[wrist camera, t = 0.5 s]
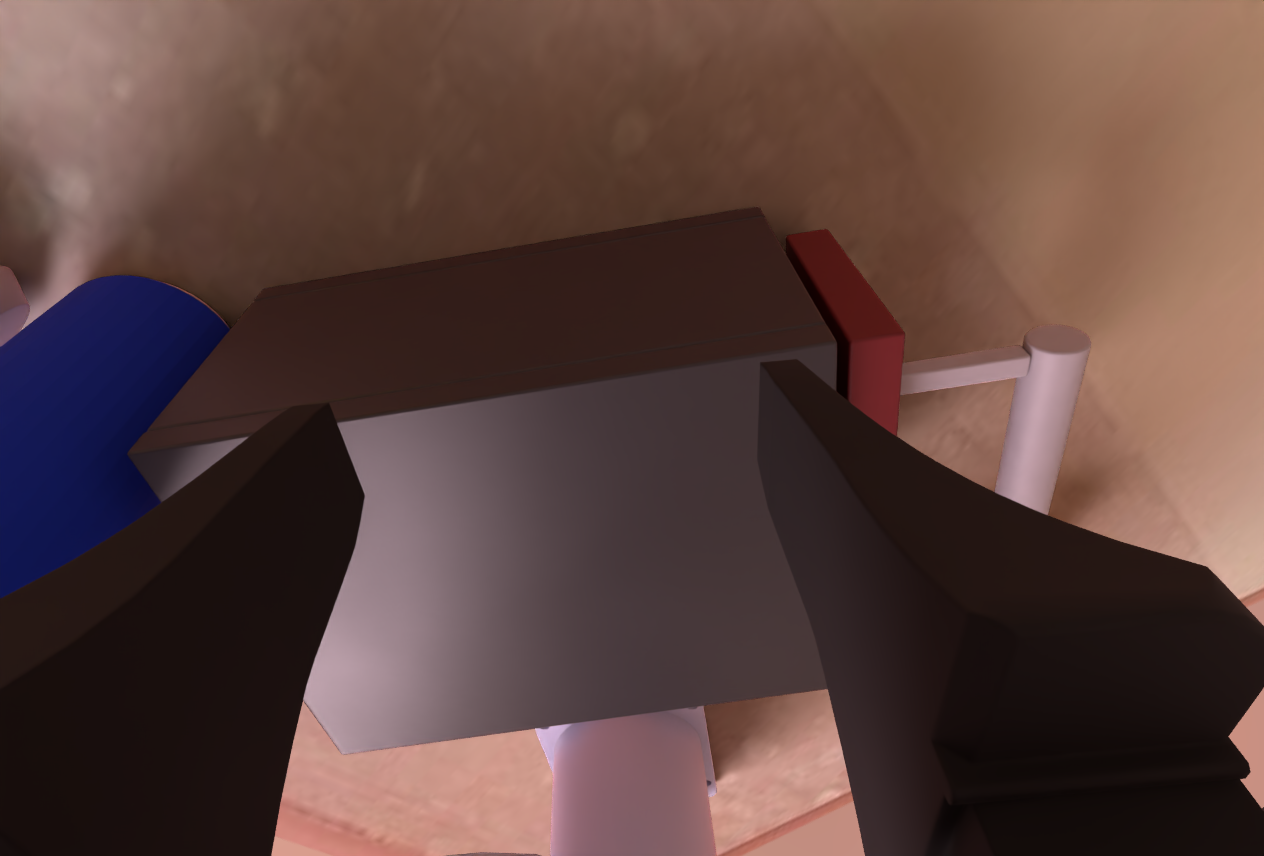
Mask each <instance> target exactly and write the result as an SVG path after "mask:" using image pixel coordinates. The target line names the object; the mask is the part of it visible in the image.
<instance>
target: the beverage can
mask: <svg viewBox="0 0 1264 856" xmlns="http://www.w3.org/2000/svg"><path fill="white" fill-rule="evenodd" d="M229 330H230V328H229V326H228V325H227V323H226V322H225V321H224V320H223V319H222V318H221V317H220V315H219V314H218V313H217V312H216V311H215V310H213V309H212V308H211V307H210V306H209V305H208V304H206V303H205V302H203V301H202V300H201V299H199V298H198V297H196V296H194V295H193V294H191V293H189V292H187V291H185V290H183V289H181V288H178V287H176V286H173V285H171V284H168V283H164V282H160V281H157V280H153V279H149V278H144V277H137V276H127V275H114V276H107V277H100V278H97V279H94V280H91V281H88V282H86V283H84V284H82V285H80V286H79V287H77V288H76V289H74V290H73V291H72V292H70V293H69V294H68V295H67V296H65V297H64V298H63V299H61V300H60V301H59V302H58V303H56V304H55V305H54V306H52V307H51V308H50V309H49V310H47V311H46V312H45V313H43V314H42V315H41V316H40V317H38V318H37V319H36V320H34V321H33V322H32V323H31V324H29V325H28V326H27V327H25V328H24V329H23V330H22V331H20V332H19V333H18V334H16V335H15V336H14V337H13V338H11V339H10V340H9V341H7V342H6V343H5V344H4V345H2V346H1V347H0V598H2V597H4V596H6V595H8V594H10V593H12V592H14V591H16V590H17V589H19V588H21V587H23V586H25V585H27V584H29V583H31V582H33V581H35V580H36V579H38V578H40V577H42V576H44V575H46V574H48V573H50V572H52V571H53V570H55V569H57V568H59V567H61V566H63V565H64V564H66V563H68V562H70V561H71V560H73V559H75V558H77V557H78V556H80V555H82V554H83V553H85V552H87V551H88V550H90V549H92V548H93V547H95V546H97V545H98V544H100V543H101V542H103V541H105V540H106V539H108V538H110V537H111V536H113V535H114V534H116V533H118V532H119V531H121V530H122V529H124V528H125V527H127V526H128V525H130V524H131V523H133V522H134V521H136V520H137V519H139V518H140V517H142V516H143V515H145V514H146V513H148V512H149V511H150V510H152V509H153V508H155V507H156V506H157V505H159V504H160V503H161V502H160V500H159V499H158V497H157V496H156V495H155V493H154V492H153V490H152V489H151V488H150V486H149V485H148V483H147V482H146V481H145V479H144V478H143V476H142V475H141V474H140V472H139V471H138V469H137V468H136V467H135V465H134V464H133V462H132V461H131V460H130V458H129V457H128V455H127V453H128V451H129V450H130V449H131V448H132V446H133V445H134V444H135V443H136V442H137V440H138V439H139V438H140V437H141V436H142V434H143V433H145V432H147V429H148V428H149V427H150V425H151V424H152V423H153V422H154V421H155V419H156V418H157V417H158V416H159V415H160V413H161V412H162V411H163V410H164V409H165V407H166V406H167V405H168V404H169V403H170V401H171V400H172V399H173V398H174V397H175V395H176V394H177V393H178V392H179V390H180V389H181V388H182V387H183V386H184V384H185V383H186V382H187V381H188V380H189V378H190V377H191V376H192V375H193V374H194V372H195V371H196V370H197V369H198V368H199V366H200V365H201V364H202V363H203V362H204V360H205V359H206V358H207V357H208V356H209V354H210V353H211V352H212V351H213V350H214V348H215V347H216V346H217V345H218V344H219V342H220V341H221V340H222V339H223V338H224V336H225V335H226V334H227V333H228V332H229Z"/></svg>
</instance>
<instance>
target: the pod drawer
mask: <svg viewBox="0 0 1264 856" xmlns="http://www.w3.org/2000/svg"><path fill="white" fill-rule="evenodd" d="M786 255H787V257H788V259H789V260H790V262H791V264H792V266H793V267H794V269H795V271H796V273H797V274H798V276H799V278H800V280H801V281H802V283H803V285H804V287H805V288H806V290H807V292H808V294H809V295H810V297H811V299H812V301H813V302H814V304H815V306H816V307H817V309H818V311H819V313H820V314H821V316H822V318H823V320H824V321H825V323H826V325H827V326H828V328H829V329H830V331H831V333H832V335H833V336H834V338H835V340H836V342H837V379H836V392H838V393H839V394H840V395H841V396H843V397H844V398H845V399H846V400H848V401H849V402H850V403H851V404H853V405H854V406H855V407H857V408H858V409H859V410H860V411H862V412H863V413H864V414H866V415H867V416H868V417H870V418H871V419H872V420H874V421H875V422H877V423H878V424H879V425H881V426H882V427H884V428H885V429H886V430H888V431H889V432H891V433H892V434H894V435H895V436H897V428H898V416H899V404H900V396H901V395H907V394H914V393H920V392H927V391H933V390H940V389H946V388H953V387H959V386H966V385H972V384H979V383H985V382H992V381H998V380H1005V379H1012V378H1016V382H1015V387H1014V393H1013V398H1012V403H1011V408H1010V414H1009V419H1008V424H1007V429H1006V434H1005V440H1004V445H1003V450H1002V455H1001V461H1000V466H999V471H998V476H997V481H996V487H995V493H998V494H1000V495H1002V496H1004V497H1006V498H1009V499H1011V500H1013V501H1015V502H1018V503H1020V504H1022V505H1024V506H1027V507H1029V508H1031V509H1033V510H1036V511H1038V512H1041V513H1043V514H1046V515H1048V512H1049V508H1050V505H1051V501H1052V497H1053V493H1054V489H1055V485H1056V481H1057V477H1058V473H1059V469H1060V465H1061V461H1062V458H1063V454H1064V450H1065V446H1066V442H1067V438H1068V434H1069V430H1070V426H1071V422H1072V418H1073V414H1074V411H1075V407H1076V403H1077V399H1078V395H1079V391H1080V387H1081V383H1082V379H1083V375H1084V371H1085V367H1086V363H1087V360H1088V356H1089V352H1090V348H1091V340H1090V338H1089V336H1088V335H1087V334H1086V333H1084V332H1083V331H1081V330H1079V329H1076V328H1073V327H1070V326H1065V325H1052V324H1051V325H1041V326H1037V327H1034V328H1032V329H1030V330H1029V331H1028V332H1027V333H1026V334H1025V336H1024V340H1023V346H1022V347H1021V346H1020V345H1015V346H1008V347H1002V348H995V349H989V350H983V351H976V352H970V353H963V354H957V355H950V356H944V357H937V358H931V359H925V360H918V361H912V362H905V363H903V354H904V342H905V333H904V331H903V330H902V328H901V327H900V326H899V324H898V323H897V322H896V320H895V319H894V318H893V316H892V315H891V314H890V312H889V311H888V310H887V308H886V307H885V306H884V304H883V303H882V302H881V300H880V299H879V298H878V296H877V295H876V294H875V292H874V291H873V289H872V288H871V287H870V285H869V284H868V283H867V281H866V280H865V279H864V277H863V276H862V275H861V273H860V272H859V271H858V269H857V268H856V267H855V265H854V264H853V263H852V261H851V260H850V259H849V257H848V256H847V255H846V253H845V252H844V251H843V249H842V248H841V247H840V245H839V244H838V243H837V241H836V240H835V239H834V237H833V236H832V235H831V233H830V232H829V231H828V230H827V229H823V230H817V231H810V232H804V233H798V234H792V235H788V236H786Z"/></svg>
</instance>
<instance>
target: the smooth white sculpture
mask: <svg viewBox="0 0 1264 856" xmlns="http://www.w3.org/2000/svg"><path fill="white" fill-rule="evenodd" d="M29 312H30V306H29V304H28V302H27V299H26V297H25V295H24V293H23V291H22V289H21V287H20V285H19V283H18V281H17V279H16V277H15V275H14V273H13V271H12V270H11V269H10V268H9V267H6V266H0V347H1V346H2V345H4V344H5V343H6V342H7V341H9V340H10V339H11V338H13V337H14V336H15V335H16V334H18V333H19V331H20V330H21V328H22V327H23V325H24V323H25V321H26V320H27V317H28V315H29Z"/></svg>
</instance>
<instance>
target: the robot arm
mask: <svg viewBox="0 0 1264 856" xmlns="http://www.w3.org/2000/svg"><path fill="white" fill-rule="evenodd" d="M757 461H758V466H759V471H760V475H761V480H762V485H763V489H764V493H765V498H766V502H767V506H768V510H769V513H770V515H771V518H772V521H773V524H774V526H775V529H776V532H777V535H778V537H779V540H780V543H781V546H782V548H783V551H784V554H785V556H786V559H787V562H788V564H789V567H790V570H791V572H792V575H793V578H794V580H795V583H796V586H797V588H798V591H799V594H800V596H801V599H802V602H803V604H804V607H805V610H806V613H807V615H808V618H809V621H810V625H811V628H812V631H813V634H814V637H815V640H816V644H817V648H818V652H819V656H820V660H821V664H822V668H823V672H824V676H825V680H826V684H827V688H828V692H829V696H830V700H831V704H832V708H833V713H834V717H835V721H836V725H837V729H838V734H839V738H840V742H841V746H842V750H843V755H844V759H845V764H846V768H847V773H848V777H849V782H850V787H851V791H852V796H853V800H854V804H855V809H856V814H857V818H858V823H859V828H860V832H861V838H862V843H863V848H864V852H865V856H1264V807H1263V808H1261V807H1260V806H1259V804H1258V803H1257V802H1256V800H1255V799H1254V798H1253V796H1252V795H1251V794H1250V792H1249V791H1248V790H1247V788H1246V787H1245V786H1244V784H1243V783H1242V782H1241V780H1240V779H1243V778H1246V777H1247V776H1248V775H1249V773H1250V767H1249V763H1248V762H1247V760H1246V759H1245V758H1244V756H1243V755H1242V754H1241V753H1240V751H1239V750H1238V749H1237V748H1236V746H1235V745H1234V744H1233V742H1232V741H1231V740H1230V738H1229V737H1228V736H1229V735H1230V733H1231V732H1232V731H1233V729H1234V728H1235V726H1236V725H1237V724H1238V722H1239V721H1240V720H1241V718H1242V717H1243V716H1244V714H1245V713H1246V711H1247V710H1248V709H1249V707H1250V706H1251V704H1252V703H1253V702H1254V700H1255V699H1256V698H1257V696H1258V695H1259V693H1260V692H1261V691H1262V689H1263V687H1264V626H1263V625H1262V624H1261V623H1260V622H1259V621H1258V619H1257V618H1256V617H1255V616H1254V615H1253V614H1252V613H1251V612H1250V611H1249V610H1248V609H1247V608H1246V607H1245V606H1244V605H1243V604H1242V602H1241V601H1240V600H1239V599H1238V598H1237V597H1236V596H1235V595H1234V594H1233V593H1232V592H1231V591H1230V590H1229V589H1228V588H1227V587H1226V586H1225V584H1224V583H1223V582H1222V581H1221V580H1220V579H1219V578H1218V577H1217V576H1216V575H1215V574H1214V573H1213V572H1212V571H1211V570H1210V569H1209V568H1208V567H1206V566H1203V565H1199V564H1196V563H1192V562H1189V561H1185V560H1182V559H1178V558H1175V557H1172V556H1168V555H1165V554H1161V553H1158V552H1154V551H1151V550H1147V549H1144V548H1141V547H1137V546H1134V545H1130V544H1127V543H1123V542H1120V541H1117V540H1114V539H1111V538H1108V537H1105V536H1103V535H1100V534H1097V533H1094V532H1091V531H1089V530H1086V529H1083V528H1080V527H1077V526H1074V525H1072V524H1069V523H1066V522H1063V521H1061V520H1058V519H1056V518H1053V517H1051V516H1048V515H1046V514H1043V513H1041V512H1038V511H1036V510H1033V509H1031V508H1029V507H1027V506H1024V505H1022V504H1020V503H1018V502H1015V501H1013V500H1011V499H1009V498H1006V497H1004V496H1002V495H1000V494H998V493H995V492H993V491H991V490H989V489H987V488H985V487H983V486H981V485H979V484H977V483H975V482H973V481H971V480H969V479H967V478H965V477H963V476H962V475H960V474H958V473H956V472H954V471H952V470H951V469H949V468H947V467H945V466H943V465H942V464H940V463H938V462H936V461H934V460H933V459H931V458H929V457H928V456H926V455H924V454H923V453H921V452H919V451H918V450H916V449H915V448H913V447H912V446H910V445H909V444H907V443H906V442H904V441H903V440H901V439H900V438H898V437H897V436H895V435H894V434H892V433H891V432H889V431H888V430H886V429H885V428H884V427H882V426H881V425H879V424H878V423H877V422H875V421H874V420H872V419H871V418H870V417H868V416H867V415H866V414H864V413H863V412H862V411H860V410H859V409H858V408H857V407H855V406H854V405H853V404H851V403H850V402H849V401H848V400H846V399H845V398H844V397H843V396H841V395H840V394H839V393H838V392H836V391H835V390H834V389H833V388H832V387H830V386H829V385H828V384H827V383H825V382H824V381H823V380H822V379H821V378H819V377H818V376H817V375H816V374H815V373H813V372H812V371H811V370H810V369H809V368H807V367H806V366H805V365H804V364H803V363H801V362H800V361H799V360H797V359H792V360H781V361H770V362H760V382H759V414H758V445H757ZM364 499H365V494H364V492H363V489H362V486H361V484H360V481H359V479H358V476H357V474H356V471H355V468H354V466H353V463H352V461H351V458H350V455H349V453H348V450H347V448H346V445H345V443H344V440H343V437H342V435H341V432H340V430H339V427H338V424H337V422H336V419H335V417H334V414H333V412H332V409H331V406H330V404H329V403H318V404H308V405H297V406H292V407H290V408H289V409H287V410H285V411H284V412H282V413H281V414H279V415H278V416H276V417H275V418H274V419H272V420H271V421H269V422H268V423H267V424H265V425H264V426H263V427H261V428H260V429H259V430H257V431H256V432H255V433H254V434H252V435H251V436H250V437H248V438H247V439H246V440H244V441H243V442H242V443H241V444H239V445H238V446H237V447H235V448H234V449H233V450H232V451H230V452H229V453H228V454H226V455H225V456H224V457H222V458H221V459H220V460H219V461H217V462H216V463H215V464H213V465H212V466H211V467H209V468H208V469H207V470H206V471H204V472H203V473H202V474H200V475H199V476H198V477H196V478H195V479H194V480H192V481H191V482H190V483H188V484H187V485H185V486H184V487H183V488H181V489H180V490H178V491H177V492H176V493H174V494H173V495H171V496H170V497H169V498H167V499H166V500H164V501H163V502H162V503H160V504H159V505H157V506H156V507H155V508H153V509H152V510H150V511H149V512H148V513H146V514H145V515H143V516H142V517H140V518H139V519H137V520H136V521H134V522H133V523H131V524H130V525H128V526H127V527H125V528H124V529H122V530H121V531H119V532H118V533H116V534H114V535H113V536H111V537H110V538H108V539H106V540H105V541H103V542H101V543H100V544H98V545H97V546H95V547H93V548H92V549H90V550H88V551H87V552H85V553H83V554H82V555H80V556H78V557H77V558H75V559H73V560H71V561H70V562H68V563H66V564H64V565H63V566H61V567H59V568H57V569H55V570H53V571H52V572H50V573H48V574H46V575H44V576H42V577H40V578H38V579H36V580H35V581H33V582H31V583H29V584H27V585H25V586H23V587H21V588H19V589H17V590H16V591H14V592H12V593H10V594H8V595H6V596H4V597H2V598H0V856H271V853H272V848H273V842H274V837H275V831H276V825H277V819H278V814H279V808H280V802H281V797H282V793H283V788H284V783H285V778H286V773H287V768H288V764H289V759H290V754H291V749H292V744H293V740H294V736H295V732H296V727H297V723H298V719H299V715H300V711H301V706H302V702H303V698H304V694H305V690H306V686H307V683H308V679H309V676H310V673H311V670H312V667H313V663H314V660H315V658H316V655H317V652H318V649H319V647H320V644H321V641H322V638H323V636H324V633H325V630H326V627H327V625H328V622H329V619H330V616H331V614H332V611H333V608H334V605H335V603H336V600H337V597H338V594H339V592H340V589H341V586H342V583H343V581H344V578H345V575H346V572H347V569H348V566H349V564H350V561H351V558H352V555H353V552H354V549H355V545H356V541H357V536H358V531H359V527H360V521H361V516H362V510H363V504H364ZM535 731H536V733H537V736H538V738H539V741H540V743H541V746H542V748H543V750H544V753H545V755H546V758H547V760H548V763H549V765H550V767H551V770H552V772H553V791H552V818H551V846H550V856H717V854H716V847H715V840H714V833H713V826H712V818H711V811H710V804H709V797H711V796H714V795H715V794H716V793H717V787H716V780H715V774H714V768H713V762H712V755H711V749H710V743H709V737H708V730H707V724H706V718H705V712H704V706H699V707H691V708H684V709H676V710H669V711H662V712H654V713H647V714H640V715H632V716H625V717H618V718H610V719H603V720H595V721H588V722H581V723H573V724H566V725H559V726H551V727H544V728H536V729H535ZM447 856H540V855H537V854H516V853H485V852H480V853H469V854H458V855H447Z"/></svg>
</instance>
